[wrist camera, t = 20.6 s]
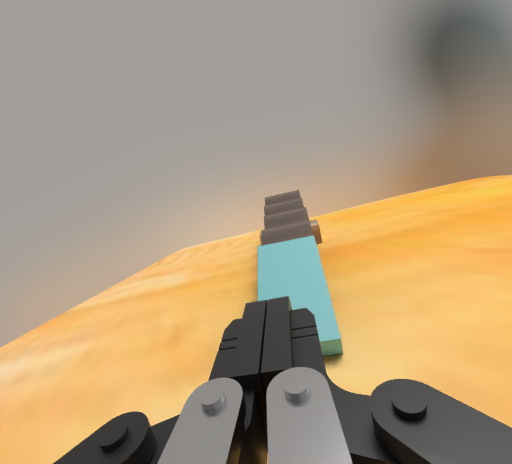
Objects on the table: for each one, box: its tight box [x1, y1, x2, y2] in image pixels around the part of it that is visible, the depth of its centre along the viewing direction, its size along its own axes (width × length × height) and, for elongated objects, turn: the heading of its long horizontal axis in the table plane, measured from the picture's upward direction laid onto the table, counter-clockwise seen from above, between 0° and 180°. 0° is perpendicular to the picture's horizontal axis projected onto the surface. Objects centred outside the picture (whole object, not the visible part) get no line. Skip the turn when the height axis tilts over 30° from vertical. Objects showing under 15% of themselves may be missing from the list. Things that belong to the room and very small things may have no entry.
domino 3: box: [264, 208, 309, 229], centre depth 31 cm, size 2×5×10 cm
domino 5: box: [258, 236, 343, 356], centre depth 22 cm, size 2×5×10 cm
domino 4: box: [262, 221, 313, 246], centre depth 26 cm, size 2×5×10 cm
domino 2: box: [264, 198, 304, 216], centre depth 35 cm, size 2×5×10 cm
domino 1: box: [265, 190, 301, 206], centre depth 39 cm, size 2×5×10 cm
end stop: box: [260, 219, 322, 245], centre depth 40 cm, size 3×8×2 cm, turn 84°
